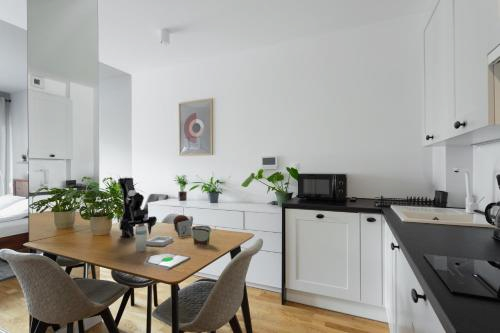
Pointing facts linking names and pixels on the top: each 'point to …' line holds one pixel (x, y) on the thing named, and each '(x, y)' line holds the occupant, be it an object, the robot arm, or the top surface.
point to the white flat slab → (165, 260)
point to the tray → (159, 241)
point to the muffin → (179, 220)
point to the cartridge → (141, 237)
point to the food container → (201, 235)
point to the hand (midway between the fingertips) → (141, 235)
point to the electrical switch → (184, 228)
